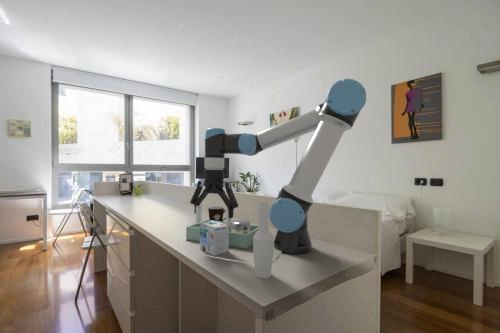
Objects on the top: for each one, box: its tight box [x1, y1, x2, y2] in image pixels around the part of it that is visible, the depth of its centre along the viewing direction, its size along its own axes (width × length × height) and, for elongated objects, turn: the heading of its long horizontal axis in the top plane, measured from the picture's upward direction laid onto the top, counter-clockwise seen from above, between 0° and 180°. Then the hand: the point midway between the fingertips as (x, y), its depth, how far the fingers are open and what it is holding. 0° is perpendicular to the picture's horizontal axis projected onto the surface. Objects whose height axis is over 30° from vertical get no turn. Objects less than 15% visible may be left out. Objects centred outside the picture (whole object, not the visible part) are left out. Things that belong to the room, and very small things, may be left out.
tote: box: [185, 219, 259, 249], centre depth 113 cm, size 30×16×6 cm, turn 65°
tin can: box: [231, 219, 251, 234], centre depth 109 cm, size 8×8×8 cm
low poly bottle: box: [252, 201, 274, 279], centre depth 77 cm, size 6×6×22 cm
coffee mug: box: [207, 205, 228, 222], centre depth 138 cm, size 12×9×10 cm
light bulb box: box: [199, 220, 230, 258], centre depth 98 cm, size 11×7×11 cm, turn 42°
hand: (213, 224), depth 98 cm, fingers open, 13 cm apart
